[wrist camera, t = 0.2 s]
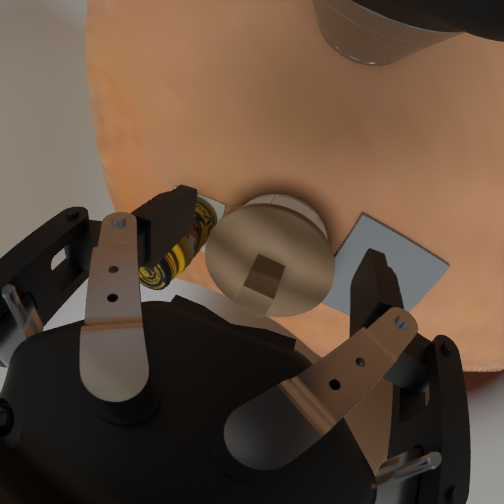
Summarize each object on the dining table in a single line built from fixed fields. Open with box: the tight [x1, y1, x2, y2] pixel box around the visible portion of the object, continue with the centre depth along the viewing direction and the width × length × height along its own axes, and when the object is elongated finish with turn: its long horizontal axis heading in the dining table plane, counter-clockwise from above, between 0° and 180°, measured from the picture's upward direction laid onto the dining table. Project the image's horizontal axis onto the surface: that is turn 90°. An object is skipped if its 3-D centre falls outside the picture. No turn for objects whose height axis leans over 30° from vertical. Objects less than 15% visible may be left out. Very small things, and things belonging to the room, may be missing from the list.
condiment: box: [139, 186, 225, 290], centre depth 31 cm, size 7×8×12 cm
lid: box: [205, 203, 335, 319], centre depth 27 cm, size 14×14×6 cm
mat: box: [321, 212, 450, 315], centre depth 32 cm, size 14×14×1 cm
